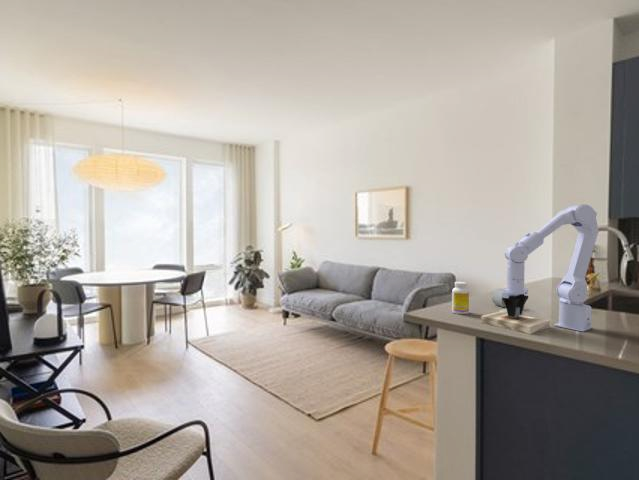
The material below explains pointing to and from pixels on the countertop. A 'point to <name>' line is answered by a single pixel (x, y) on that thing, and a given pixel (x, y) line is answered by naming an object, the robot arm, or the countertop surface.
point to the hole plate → (516, 322)
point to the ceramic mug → (498, 297)
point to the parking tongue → (506, 311)
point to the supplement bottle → (460, 298)
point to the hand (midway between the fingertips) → (514, 315)
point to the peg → (516, 314)
